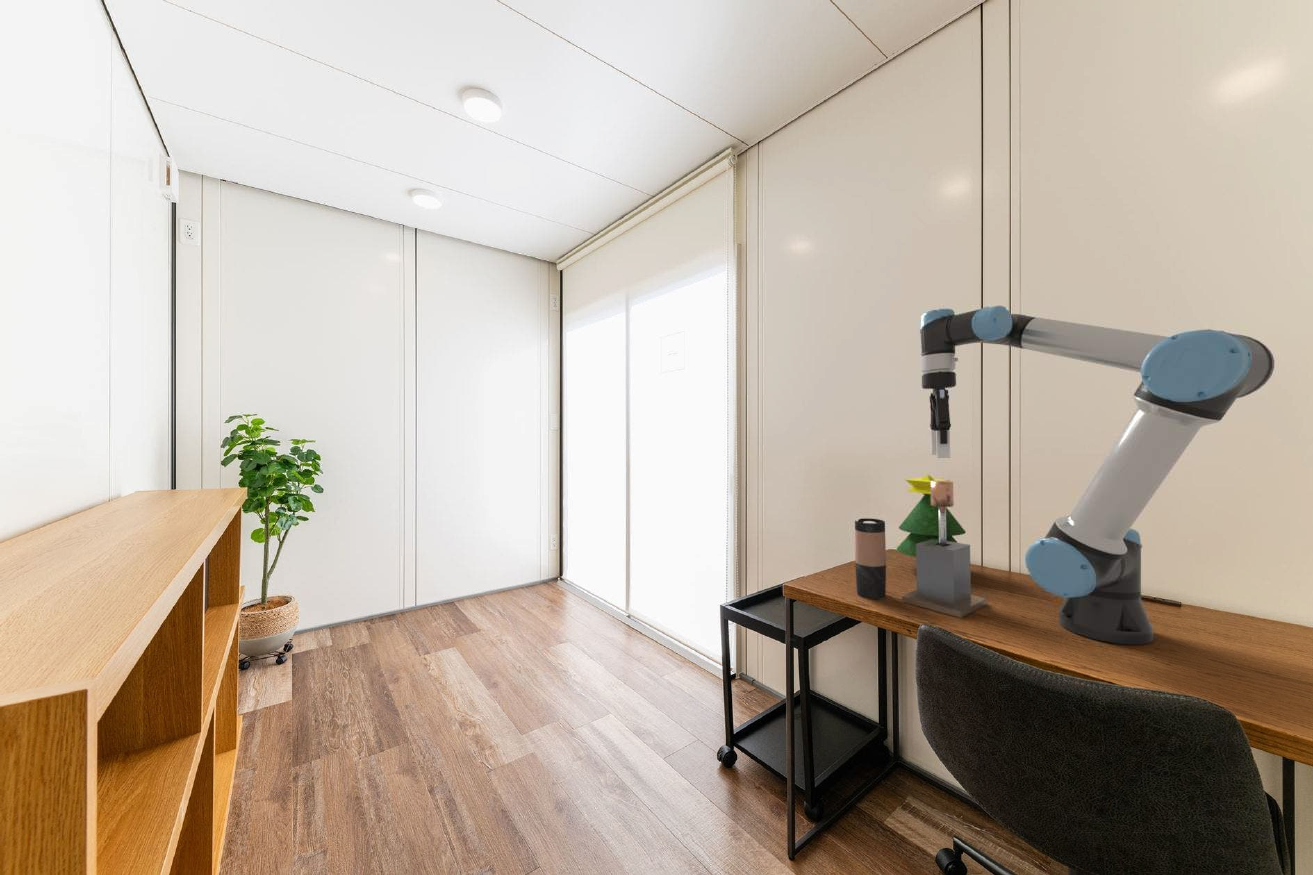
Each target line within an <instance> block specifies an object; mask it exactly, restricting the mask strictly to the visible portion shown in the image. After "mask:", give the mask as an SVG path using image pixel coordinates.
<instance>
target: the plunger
mask: <svg viewBox="0 0 1313 875" xmlns="http://www.w3.org/2000/svg"><path fill="white" fill-rule="evenodd" d="M954 501H955V500H954V481H951V480H950V481H931V505H932V506H938V507H939V545H940V546H946V508H953V507H954Z"/></svg>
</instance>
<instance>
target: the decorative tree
mask: <svg viewBox="0 0 1313 875" xmlns="http://www.w3.org/2000/svg"><path fill="white" fill-rule="evenodd" d="M905 481H906V482H907V483H908V484H909V485H911V487H910V488H909V489H908V490H907V492H909V493H916V494H917V493H918V494H922V495H923V496H922V497H921V499H920V500H919V501H918V503H916V505H915V506H914V507H913V509H912V510H911V512H909V514H908V515H907V516H906V517H905V519H904V520H903V521H902V522H901V524H899V526H898V529H899V530H901V531H903V532H906V533H909V534H908V535H907V536H906V537H905V539H904V540H903V541H902V542H901V543H900V544H899V545H898V546H897V548H896V550H897V552H899V553H900V554H902V555H906V556H909V557H915V558H916V544H918V543H921V542H924V541H928V540H931V539H937V540H939V507H938V506H932V505H931V481H951V480H950V479H942V478H940V479H939V478H933V476H930V474H926V475H925V476H924V477H920V478H919V477H917V478H910V479H908V478H907V479H905ZM966 532H967V531H966V530H965V529H964V528H963V526H962V525H961V524H960V522H959V521H958V520H957V519H956V518H955V516H954V515H953V514H952V512H951V511H950V510H949V509H948V507H946V541H950V542H956V543H959V542H958V541H957V540H956V539H955V538H954V536H962V535H964V534H966Z"/></svg>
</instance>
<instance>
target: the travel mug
mask: <svg viewBox="0 0 1313 875" xmlns="http://www.w3.org/2000/svg"><path fill="white" fill-rule="evenodd" d="M886 544H887V543H886V521H885V520H882V519H877V518H865V517H864V518H859V519H858V520H854V548H855V549H854V554H855V555H854V556H855V557H854V559H855V560H854V561H855V562H854V564H855V579H856V581H855V582H856V593H857V595H858V596H860V597H862V598H866V599H870V600H871V599H872V600H874V599H875V600H879V599H884V598H885V597H886V593H887V592H886V590H887V588H886V587H887V586H886V584H887V550H886V549H887V547H886Z"/></svg>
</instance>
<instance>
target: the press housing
mask: <svg viewBox="0 0 1313 875" xmlns="http://www.w3.org/2000/svg"><path fill="white" fill-rule="evenodd" d="M915 568H916V569H915V573H916V574H915V576H916V581H915V582H916V589H915V590H914V591H910V592H909V593H905V594H903V595H902V596H901V602H902V603H906V604H910V605H913V606H916V607H920V608H924V609H927V610H931V611H935V612H937V613H942V614H945V615H949V616H953V617H956V618H960V619H961V618H963V617H966V616H968V615H969V614H971V613H973V612H975V611H977V610H978V609H980V608H983V607H984V606H987V598H985V597H982V596H978V595H973V594H972V586H971V585H972V584H971V580H972V578H971V545H970V544H967V543H962V542H961V543H960V542H958V543H956V542H950V541H946V546H940V545H939V540H937V539H931V540H928V541H924V542H921V543H918V544H916V557H915Z"/></svg>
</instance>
